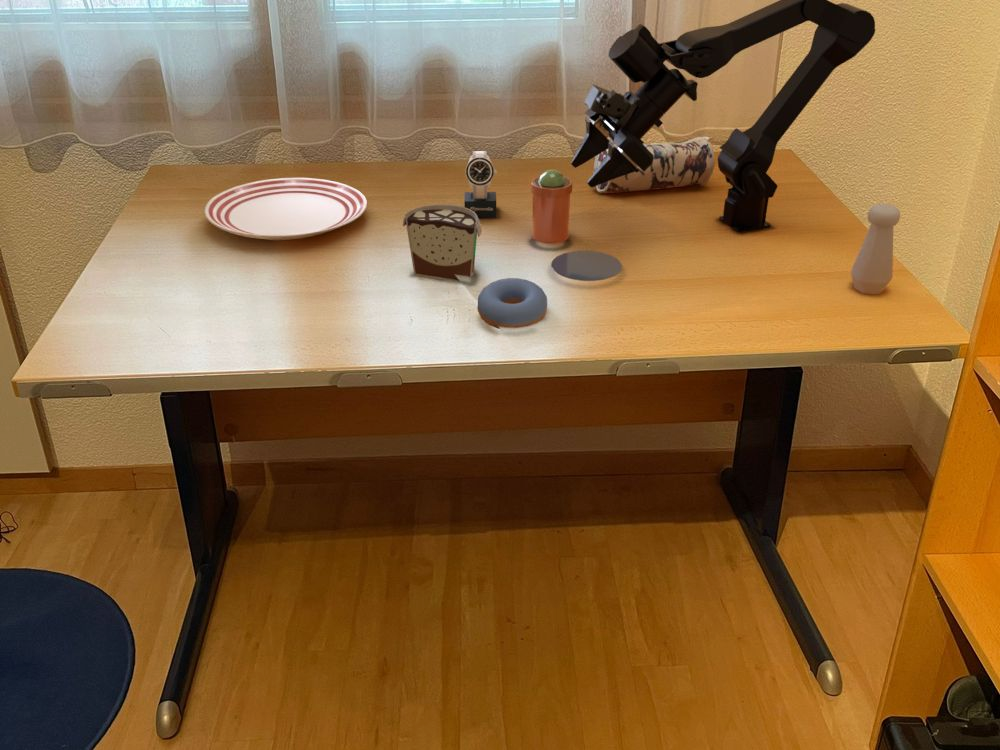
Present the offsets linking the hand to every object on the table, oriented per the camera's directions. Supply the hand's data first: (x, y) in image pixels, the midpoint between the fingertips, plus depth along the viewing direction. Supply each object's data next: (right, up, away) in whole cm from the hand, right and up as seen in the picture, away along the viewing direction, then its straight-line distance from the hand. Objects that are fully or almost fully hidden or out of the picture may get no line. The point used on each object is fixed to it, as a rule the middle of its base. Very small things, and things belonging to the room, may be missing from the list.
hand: (580, 175), depth 158 cm
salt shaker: (+42, -19, -10) cm, 48 cm away
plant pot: (-5, -10, +5) cm, 12 cm away
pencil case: (+15, +3, +26) cm, 30 cm away
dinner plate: (-50, -5, +14) cm, 52 cm away
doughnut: (-11, -24, -17) cm, 32 cm away
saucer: (0, -16, -5) cm, 17 cm away
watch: (-16, -4, +16) cm, 23 cm away
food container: (-21, -16, -4) cm, 27 cm away
